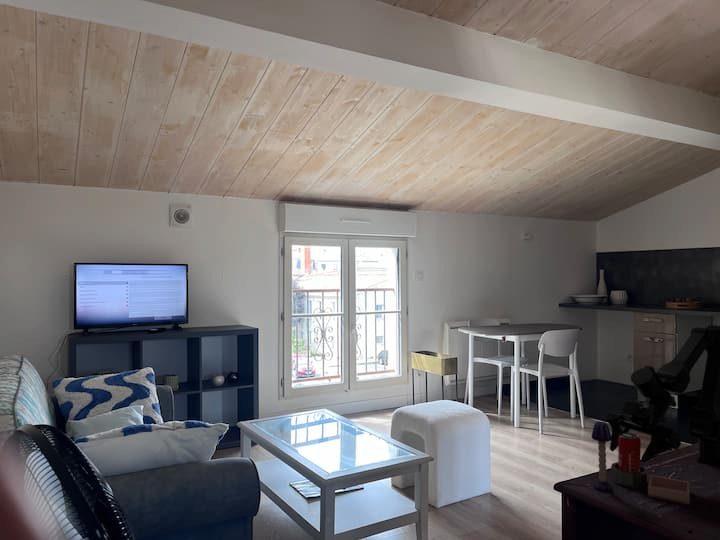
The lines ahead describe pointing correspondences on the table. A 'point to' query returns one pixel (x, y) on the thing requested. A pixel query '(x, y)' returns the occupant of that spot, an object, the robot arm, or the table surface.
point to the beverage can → (629, 452)
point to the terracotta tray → (669, 489)
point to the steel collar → (629, 477)
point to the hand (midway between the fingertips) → (626, 455)
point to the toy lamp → (602, 454)
